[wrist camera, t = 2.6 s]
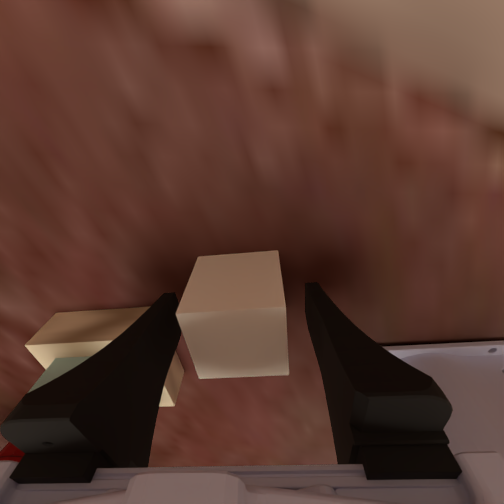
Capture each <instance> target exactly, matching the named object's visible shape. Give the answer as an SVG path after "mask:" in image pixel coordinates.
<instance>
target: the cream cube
mask: <svg viewBox="0 0 504 504" xmlns="http://www.w3.org/2000/svg"><path fill="white" fill-rule="evenodd" d="M176 317H177V319H178V322H179V325H180V328H181V330H182V333H183V336H184V339H185V341H186V344H187V347H188V350H189V352H190V355H191V358H192V361H193V363H194V366H195V369H196V372H197V374H198V377H199V379H207V378H230V377H253V376H276V375H289V361H288V341H287V320H286V304H285V297H284V290H283V283H282V275H281V268H280V261H279V254H278V250H275V251H262V252H250V253H237V254H225V255H212V256H199V257H198V258H197V261H196V263H195V266H194V268H193V271H192V273H191V276H190V278H189V281H188V283H187V286H186V288H185V291H184V294H183V296H182V299H181V301H180V304H179V306H178V309H177V311H176Z"/></svg>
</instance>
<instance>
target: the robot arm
mask: <svg viewBox="0 0 504 504" xmlns="http://www.w3.org/2000/svg"><path fill="white" fill-rule="evenodd" d="M178 306H179V303H178V300H177V297H176V294H175V292H174V293H164V294H163V295H162V296H161V297H160V298H159V299H158V300H157V301H156V302H155V303H154V304H153V305H152V306H151V307H150V308H149V309H147V310H146V311H145V312H144V313H143V314H142V315H141V316H140V317H139V318H138V319H137V320H136V321H135V322H134V323H133V324H132V325H130V326H129V327H128V328H127V329H126V330H125V331H124V332H123V333H121V334H120V335H119V336H118V337H117V338H115V339H114V340H113V341H112V342H110V343H109V344H108V345H106V346H105V347H104V348H102V349H101V350H100V351H98V352H97V353H95V354H94V355H92V356H91V357H89V358H88V359H87V360H85V361H84V362H82V363H81V364H79V365H77V366H76V367H74V368H73V369H71V370H69V371H68V372H66V373H64V374H62V375H61V376H59V377H57V378H55V379H54V380H52V381H50V382H48V383H46V384H44V385H42V386H40V387H39V388H37V389H35V390H33V391H31V392H29V393H27V394H26V395H25V396H24V397H23V398H22V400H21V401H20V402H19V403H18V405H17V406H16V407H15V408H14V410H13V411H12V412H11V413H10V415H9V416H8V417H7V418H6V420H5V421H4V422H3V423H2V425H1V427H0V431H1V434H2V436H3V437H4V438H5V439H7V440H8V441H9V442H10V443H12V444H13V445H14V446H16V447H17V448H18V449H20V450H21V451H22V452H24V453H25V454H24V456H23V457H22V459H21V460H20V462H16V461H10V460H3V461H0V504H504V340H503V341H483V342H464V343H444V344H424V345H405V346H385V347H382V346H380V345H379V344H377V343H376V342H375V341H373V340H372V339H371V338H370V337H368V336H367V335H366V334H365V333H363V332H362V331H361V330H360V329H359V328H358V327H357V326H355V325H354V324H353V323H352V322H351V321H350V320H349V319H348V318H347V317H346V316H345V315H344V314H343V313H342V312H341V311H340V310H339V308H338V307H337V306H336V305H335V304H334V303H333V302H332V301H331V299H330V298H329V297H328V296H327V294H326V293H325V292H324V291H323V289H322V288H321V286H320V285H319V284H318V283H317V282H314V283H305V313H306V319H307V325H308V329H309V333H310V336H311V340H312V343H313V346H314V350H315V353H316V357H317V360H318V363H319V367H320V370H321V374H322V379H323V384H324V389H325V394H326V400H327V405H328V410H329V415H330V421H331V427H332V432H333V438H334V444H335V450H336V455H337V461H338V465H276V466H213V467H150V468H148V463H149V457H150V451H151V444H152V439H153V434H154V428H155V423H156V418H157V414H158V409H159V404H160V400H161V396H162V392H163V387H164V383H165V380H166V377H167V373H168V371H169V368H170V365H171V362H172V359H173V356H174V354H175V351H176V348H177V345H178V342H179V339H180V336H181V332H182V330H181V328H180V325H179V322H178V319H177V317H176V311H177V309H178Z"/></svg>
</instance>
